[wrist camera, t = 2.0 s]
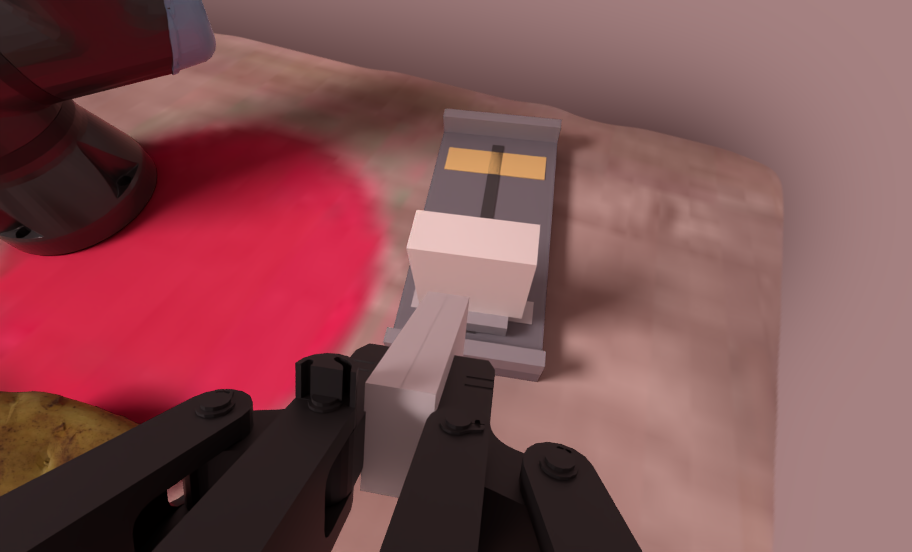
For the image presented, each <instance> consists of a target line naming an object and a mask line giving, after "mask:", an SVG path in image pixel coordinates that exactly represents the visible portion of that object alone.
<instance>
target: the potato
mask: <svg viewBox="0 0 912 552" xmlns="http://www.w3.org/2000/svg"><path fill="white" fill-rule="evenodd" d="M138 425H139V424H137V423H135V422H133V421H131V420H128V418H126V417H124V416H121V415H120V416H118V415H115V414H113V413H111V412H108V411H106V410H103V409H101V408H99V407H97V406H92V405H89V404H86V403H83V402H80V401H77V400H73V399H69V398H66V397H63V396H60V395H57V394H51V393H46V392H36V391H31V392H2V391H0V496H2V495H4V494H6V493H8V492H10V491H12V490H14V489H16V488H17V487H19V486H21V485H23V484H25V483H27V482H29V481H31V480H33V479H35V478H37V477H39V476H41V475H43V474H45V473H47V472H49V471H51V470H52V469H54V468H56V467H58V466H60V465H62V464H64V463H66V462H68V461H70V460H72V459H74V458H76V457H78V456H80V455H82V454H84V453H86V452H87V451H89V450H91V449H93V448H95V447H97V446H99V445H101V444H103V443H105V442H107V441H109V440H111V439H113V438H115V437H117V436H119V435H121V434H122V433H124V432H126V431H128V430H130V429H132V428H134V427H136V426H138Z"/></svg>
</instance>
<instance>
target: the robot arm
mask: <svg viewBox="0 0 912 552" xmlns="http://www.w3.org/2000/svg"><path fill="white" fill-rule="evenodd" d="M215 49H216V41H215V37H214V34H213V31H212V28H211V25H210V22H209V20H208V17H207V14H206V11H205V9H204V6H203V3H202V0H0V239H2V240H4V241H5V242H7V243H9V244H10V245H12V246H14V247H15V248H17V249H19V250H21V251H24V252H27V253H30V254H35V255H59V254H65V253H70V252H74V251H78V250H81V249H84V248H87V247H90V246H92V245H94V244H97V243H99V242H101V241H103V240H105V239H107V238H108V237H110V236H112V235H113V234H115V233H116V232H118V231H119V230H121V229H122V228H123V227H125V226H126V225H127V224H128V223H130V222H131V221H132V220H133V219H134V218H135V217H136V216H137V215H138V214H139V213H140V212H141V211H142V209H143V208H144V207H145V205H146V204H147V202H148V201H149V199H150V197H151V196H152V194H153V191H154V189H155V185H156V180H157V171H156V166H155V164H154V161H153V160H152V158H151V157H150V156H149V155H148V154H147V152H146V151H145V150H144V149H143V148H142V147H141V146H140V145H139V144H138V143H137V142H136V141H135V140H134V139H133V138H132V137H130V136H129V135H127V134H125V133H124V132H122V131H120V130H119V129H117V128H116V127H114V126H112V125H111V124H109V123H107V122H106V121H104V120H102V119H101V118H99V117H97V116H96V115H94V114H92V113H91V112H89V111H87V110H86V109H84V108H82V107H81V106H79V105H78V104H76V103H75V102H74V101H73V100H72V99H74V98H78V97H82V96H86V95H90V94H94V93H98V92H102V91H106V90H110V89H114V88H117V87H121V86H125V85H129V84H133V83H137V82H141V81H145V80H149V79H153V78H157V77H161V76H165V75H169V74H172V75H175V74H177V73H179V71H180V70H182V69H185V68H188V67H191V66H194V65H197V64H200V63H203V62H206V61H207V60H208V59H210V58H211V57H212V55H213V53H214V51H215ZM469 299H470V297H467V296H460V295H452V294H445V293H438V292H431V291H428V292H427V294H426V295H425V297H424V298H423V300H422V301H421V302H420V304H419V305H418V307H417V308H416V310H415V311H414V313H413V314H412V316H411V317H410V318H409V320H408V321H407V323H406V324H405V326H404V327H403V329H402V330H401V332H400V333H399V334H398V336H397V337H396V339H395V340H394V342H393V343H392V345H391V346H390V347H389V346H383V345H376V344H367V345H365V346H363V347H361V348H359V349H357V350H356V351H355V352H354V353H353V354H352V356H351V357H348V356H344V355H341V354H332V353H324V354H315V355H311V356H308V357H305V358H303V359H301V360H299V361H298V362H296V363H295V368H296V398H295V399H294V400H293V401H292V402H291V403H290V404H289V405H288V406H287V407H286V409H280V410H255V411H253V402H252V399H251V397H250V395H248V394H246V393H245V392H243V391H238V390H233V389H226V390H224V389H218V390H215V391H210V392H205V393H203V394H200V395H198V396H195V397H193V398H191V399H189V400H187V401H185V402H183V403H181V404H179V405H177V406H175V407H173V408H171V409H169V410H167V411H165V412H163V413H161V414H159V415H157V416H156V417H154V418H152V419H150V420H148V421H146V422H144V423H142V424H140V425H138V426H136V427H134V428H132V429H130V430H128V431H126V432H124V433H122V434H121V435H119V436H117V437H115V438H113V439H111V440H109V441H107V442H105V443H103V444H101V445H99V446H97V447H95V448H93V449H91V450H89V451H87V452H86V453H84V454H82V455H80V456H78V457H76V458H74V459H72V460H70V461H68V462H66V463H64V464H62V465H60V466H58V467H56V468H54V469H52V470H51V471H49V472H47V473H45V474H43V475H41V476H39V477H37V478H35V479H33V480H31V481H29V482H27V483H25V484H23V485H21V486H19V487H17V488H16V489H14V490H12V491H10V492H8V493H6V494H4V495H2V496H0V552H331V550H332V548H333V546H334V544H335V542H336V540H337V538H338V536H339V534H340V531H341V529H342V527H343V525H344V523H345V521H346V519H347V517H348V515H349V512H350V510H351V507H352V503H353V488H354V485H355V483H356V481H357V479H358V477H359V475H360V473H361V486H360V490H361V491H366V492H371V493H376V494H381V495H387V496H392V497H397V498H399V499H398V501H397V504H396V507H395V510H394V513H393V515H392V518H391V521H390V524H389V527H388V530H387V532H386V535H385V538H384V541H383V544H382V546H381V549H380V552H642V550H641V548H640V547H639V545H638V543H637V541H636V540H635V538H634V536H633V535H632V533H631V531H630V529H629V528H628V526H627V524H626V522H625V521H624V519H623V517H622V515H621V514H620V512H619V510H618V509H617V507H616V505H615V503H614V502H613V500H612V498H611V496H610V495H609V493H608V491H607V490H606V488H605V486H604V484H603V483H602V481H601V479H600V477H599V476H598V474H597V472H596V470H595V469H594V467H593V466H592V464H591V463H590V462H589V461H588V460H587V458H586V457H585V456H583V455H582V454H580V453H579V452H577V451H576V450H575V449H573V448H570V447H567V446H565V445H562V444H558V443H551V442H544V443H536V444H534V445H532V446H530V447H529V448H527V450H526V452H525V453H522V452H519V451H517V450H515V449H513V448H511V447H509V446H507V445H505V444H504V443H502V442H501V441H500V440H499V439H498V438H497V437H496V436H495V435H494V434H493V432H492V430H491V427H490V417H491V407H492V397H493V387H494V377H495V369H494V368H493V366H492V365H491V363H490V362H489V360H482V359H476V358H469V357H463V351H464V343H465V334H466V325H467V316H468V308H469ZM182 479H183V489H184V495H183V496H181V497H180V498H179V499H176V500H174V501H172V502H170V503H169V501H168V497H167V489H169V488H170V487H172V486H173V485H175V484H176V483H178V482H179V481H180V480H182Z"/></svg>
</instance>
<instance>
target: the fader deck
mask: <svg viewBox="0 0 912 552" xmlns="http://www.w3.org/2000/svg"><path fill="white" fill-rule="evenodd" d="M443 121H444V134H443V138H442V142H441V146H440V149H439V153H438V157H437V161H436V165H435V169H434V173H433V177H432V181H431V184H430V188H429V192H428V196H427V200H426V204H425V208H424V211H431V212H439V213H447V214H455V215H463V216H472V217H480V218H488V219H496V220H504V221H513V222H521V223H529V224H537V225H540V234H539V245H538V257H537V266H536V270H535V273H534V277H533V280H532V284H531V287H530V291H529V294H528V298H527V301H526V305H525V308H524V312H523V315H522V319H520V318H513V317H508V325H507V331H506V336H502V335H495V334H488V333H482V332H475V331H468V330H466V334H465V343H464V351H463V357H469V358H476V359H482V360H489V362H490V363H491V365H492V366H493V368H494V369H495V375H496V376H503V377H509V378H515V379H521V380H528V381H534V382H537V381H538V379H539V377H540V375H541V373H542V371H543V370H544V368H545V358H546V351H542V348H543V334H544V320H545V306H546V293H547V279H548V265H549V251H550V237H551V223H552V209H553V195H554V181H555V167H556V153H557V142H558V138H559V134H560V130H561V120H560V119H550V118H540V117H529V116H519V115H509V114H498V113H488V112H477V111H467V110H457V109H446V108H445V111H444V115H443ZM418 305H419V301H418V297H417V292H416V288H415V283H414V279H413V275H412V270H411V266H409V270H408V274H407V278H406V282H405V285H404V289H403V293H402V297H401V301H400V305H399V309H398V313H397V316H396V320H395V324H394V328H389V327H387V330H386V334H385V337H384V341H383V342H384V344H385V346H389V347H390V346H391V345H392V343H393V342H394V340H395V339H396V337H397V336H398V334H399V333H400V332H401V330H402V329H403V327H404V326H405V324H406V323H407V321H408V320H409V318H410V317H411V316H412V314H413V313H414V311H415V310H416V308H417V307H418Z"/></svg>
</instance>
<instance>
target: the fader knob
mask: <svg viewBox="0 0 912 552" xmlns="http://www.w3.org/2000/svg"><path fill="white" fill-rule="evenodd" d="M539 234H540V225H537V224H529V223H521V222H513V221H504V220H496V219H488V218H480V217H472V216H463V215H455V214H447V213H439V212H431V211H422V210H416V214H415V218H414V222H413V225H412V229H411V233H410V237H409V240H408V244H407V253H408V257H409V262H410V266H411V270H412V275H413V279H414V283H415V288H416V292H417V297H418V301H419V304H420V302H421V301H422V300H423V298H424V297H425V295H426V294H427V292H428V291H431V292H438V293H445V294H452V295H460V296H467V297H470V299H469V308H468V316H467V325H466V330H468V331H475V332H482V333H488V334H495V335H502V336H506V331H507V325H508V317H513V318H520V319H522V315H523V312H524V308H525V305H526V301H527V298H528V294H529V291H530V287H531V284H532V280H533V277H534V273H535V270H536V266H537V257H538V245H539Z"/></svg>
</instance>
